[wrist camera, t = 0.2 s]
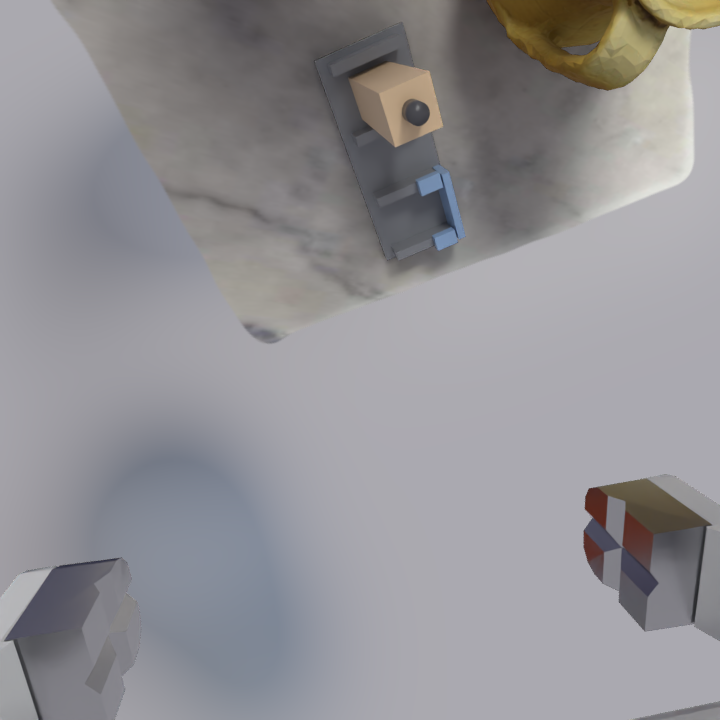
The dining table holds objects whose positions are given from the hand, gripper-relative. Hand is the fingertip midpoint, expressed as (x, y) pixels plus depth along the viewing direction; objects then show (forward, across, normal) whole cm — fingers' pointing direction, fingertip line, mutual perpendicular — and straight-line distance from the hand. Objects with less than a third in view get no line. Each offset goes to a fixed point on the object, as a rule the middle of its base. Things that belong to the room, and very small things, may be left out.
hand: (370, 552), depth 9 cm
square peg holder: (+50, -11, -12) cm, 53 cm away
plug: (+48, -9, -18) cm, 52 cm away
